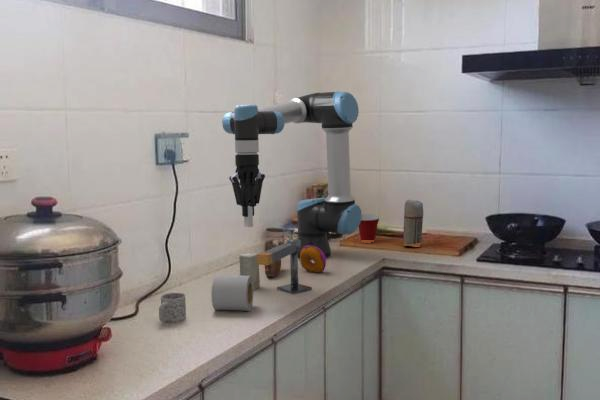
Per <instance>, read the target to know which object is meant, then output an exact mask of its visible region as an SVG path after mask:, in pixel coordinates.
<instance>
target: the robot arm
mask: <svg viewBox="0 0 600 400" xmlns="http://www.w3.org/2000/svg"><path fill="white" fill-rule="evenodd" d="M358 117H359V103H358V102H357V99H356V98H355V96H354V95H353V94H352V93H350V92H348V91H340V90H339V91H329V92H313V93H310V94H306V95H302V96H299V97H294V98H292V99H290V100H289V101H287V102H283V103H282V102H281V103H278V104H273V105H267V106H262V107H261V106H260V107H258V105H256V104H237V105H236V106H234V111H230V112H227V113H225V114H224V116H223V117H222V120H221V125H222V128H223V130H224V131H225V132H226V133H227V134H229V135H232V134H233V135H234V149H235V150H234V152H235V153H236V154H235V155H234V159H235V160H234V162H235V164H234V165H235V167H236V169H235V172H234V174H233V175H231V176H229V177H228V179H229V181H230V182H231V184H232V185H231V186H232V190H233V193H234V199H235V203H236V205H237V206H240V207H241V209H242V210H241V215H242V217H243V226H244V227H245V228H252V227H254V218H253V217H254V216H255V207H256V206H257V205H258V204H260V200H261V194H262V188H263V183H264V180H265V178H266V175H265V173H261V172H260V169H259V165H260V159H259V158H260V157H259V156H260V155H259V154H258V153H259V152H260V147H259V143H260V142H259V135H277V134H280V133H281V132H282V131H283V130H284V128H285V125H286V124H289V123H294V124H301V123H307V124H309V123H311V124H321V130H323V132H325V137H326V138H325V141H326V143H325V144H326V162H327V163H326V164H327V165H326V168H327V169H326V170H327V189H328V190H327V191H328V195H327V196H326V197H318V198H317V197H316V198H309V199H308V198H307V199H303V200H300V201H298V202H297V211H296V213H297V217H296V218H297V238H296V239H299V240H301V249H302V248H303V247H304V246H308V245H313V246H316V247H318V248H319V249H320V250H322V251H323V253H324V254H325V256H326V259H327V258H330V257H331V256H332V249H331V246H330V242H329V239H328V237H327V236H328V235H327V234H328V233H331V234H332V233H333V234H339V235H352V234H353V233H355V232H356V231H357V230H358V229H359V224H360V222H361V216H362V214H363V213H362V209H361V207H360V206H359V205H358V204H356V198H355V197H354V196H353V195H352V194H351V191H352V190H351V168H350V167H351V165H350V161H351V160H350V135H349V133H350V131H351V130H352V129H353V128H354V127H353V124H354V123H355V122H356V121H357V120H358ZM300 253H301V250H300V251H298V259H300ZM310 260H312V259H311V258H310Z"/></svg>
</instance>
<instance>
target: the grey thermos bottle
mask: <svg viewBox="0 0 600 400" xmlns="http://www.w3.org/2000/svg"><path fill="white" fill-rule="evenodd" d="M403 211H404V213H403V232H402V233H403V235H402V236H403V237H402V243H403V242H404V243H407V244H416V243H421V242H422V241H423V221H424V204H423V202H422V201H420V200H415V199H414V200H413V199H406V200H405V202H404V210H403Z"/></svg>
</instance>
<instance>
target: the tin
mask: <svg viewBox="0 0 600 400" xmlns="http://www.w3.org/2000/svg"><path fill="white" fill-rule="evenodd" d="M281 267H282V258H281V259H279V260H277V261H275V262H273V263H272V264H270V265H264V273H265V276H266V277H267V278H275V277H277V275H278V274H279V273H280V272H281V269H282V268H281Z"/></svg>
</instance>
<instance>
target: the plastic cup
mask: <svg viewBox="0 0 600 400" xmlns="http://www.w3.org/2000/svg"><path fill="white" fill-rule="evenodd" d="M380 219H381V216H380V215H379V214H376V213H375V214H373V213H365V214H364V213H362V216H361V222H360V224H359V226H358V233H359V235H360V236H359V237H360V241H361V240H374V239H375V240H376V236H377V230H378V224H379V222H380Z"/></svg>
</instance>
